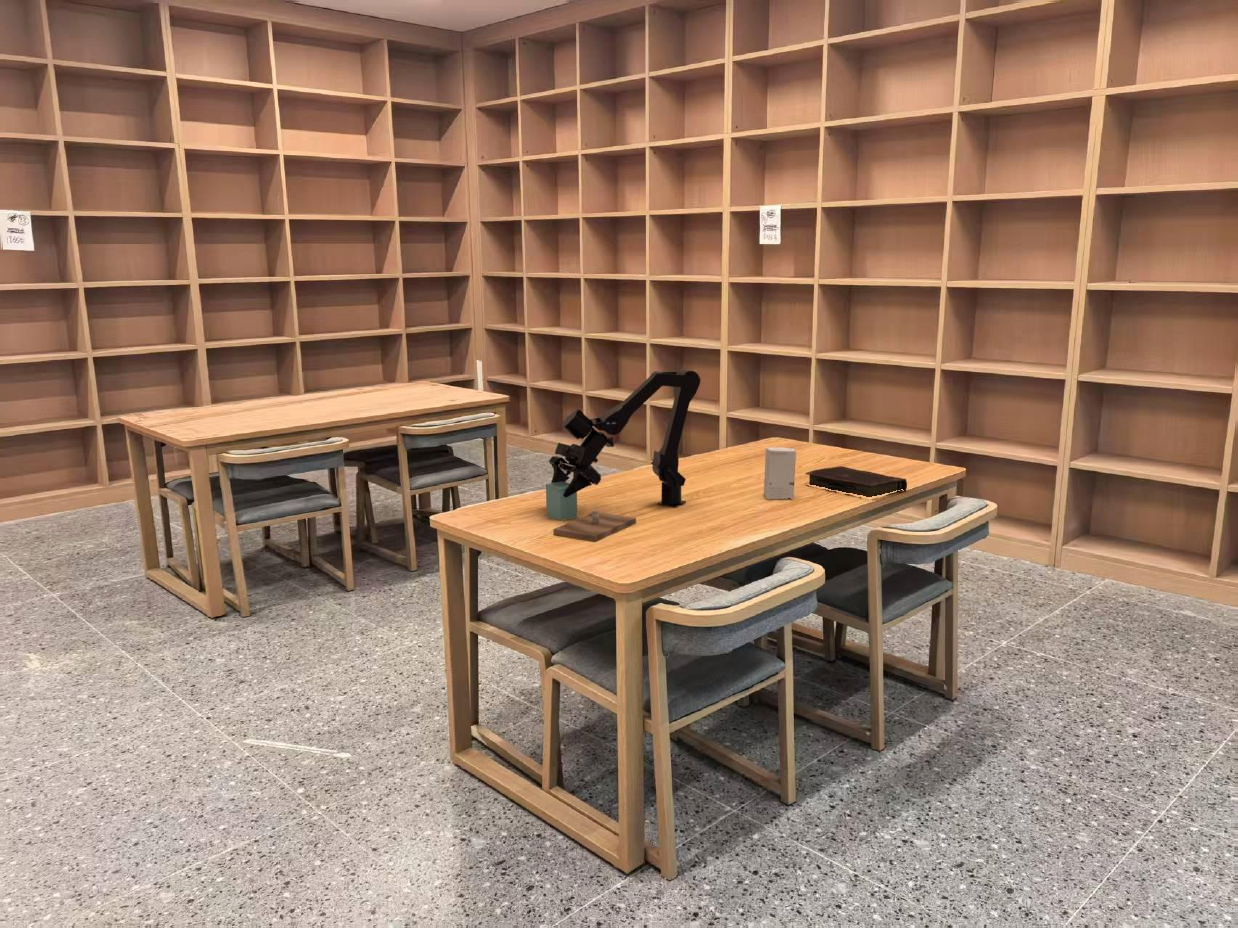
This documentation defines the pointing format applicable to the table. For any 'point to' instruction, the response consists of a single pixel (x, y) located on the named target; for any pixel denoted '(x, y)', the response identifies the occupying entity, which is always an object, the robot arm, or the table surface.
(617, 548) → the table surface
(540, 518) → the table surface
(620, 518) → the stud board
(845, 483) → the diary
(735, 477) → the table surface
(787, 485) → the skincare box
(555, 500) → the seafoam square prism
